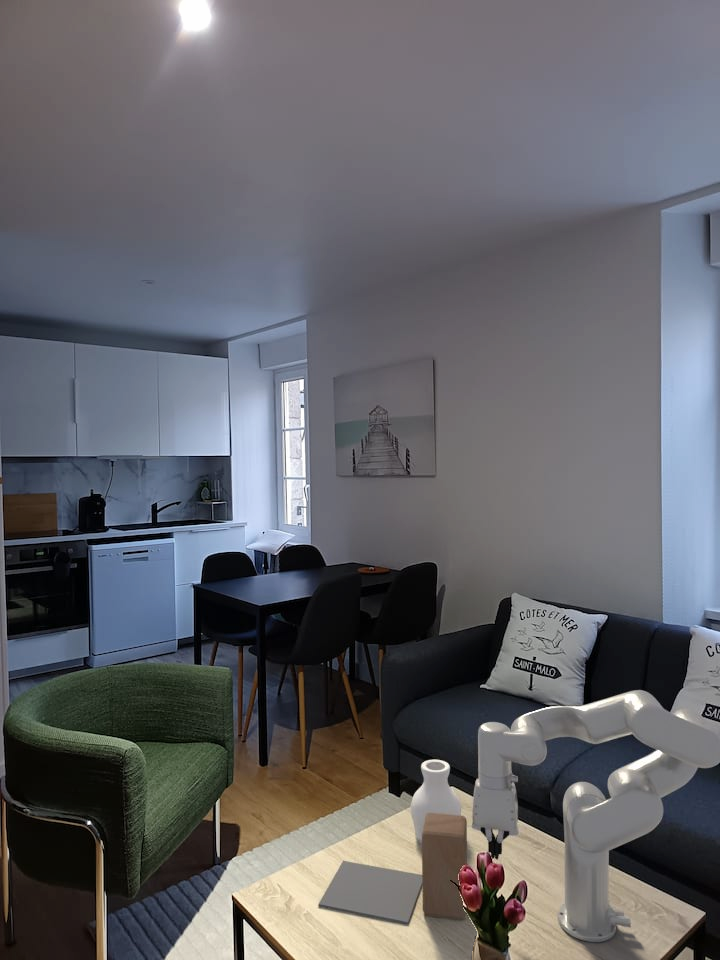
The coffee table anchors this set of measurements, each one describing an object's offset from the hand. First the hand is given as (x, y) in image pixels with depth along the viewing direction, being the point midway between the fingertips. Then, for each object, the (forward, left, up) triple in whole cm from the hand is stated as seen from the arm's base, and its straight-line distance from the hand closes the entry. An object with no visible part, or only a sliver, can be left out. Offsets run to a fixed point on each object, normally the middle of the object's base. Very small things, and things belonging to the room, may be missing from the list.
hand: (495, 855), depth 157 cm
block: (+12, 0, -14) cm, 19 cm away
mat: (+30, 0, -14) cm, 33 cm away
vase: (+20, -29, -14) cm, 38 cm away
